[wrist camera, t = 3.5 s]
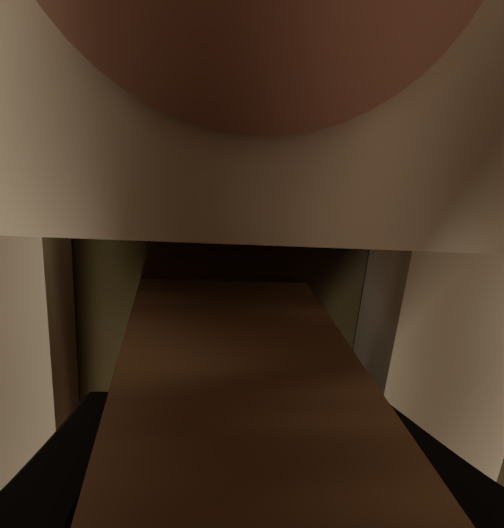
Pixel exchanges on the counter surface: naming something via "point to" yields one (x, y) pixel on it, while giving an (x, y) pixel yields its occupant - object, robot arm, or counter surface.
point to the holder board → (262, 179)
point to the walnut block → (251, 421)
